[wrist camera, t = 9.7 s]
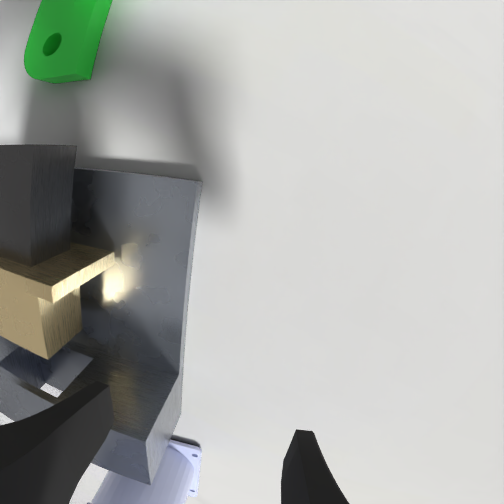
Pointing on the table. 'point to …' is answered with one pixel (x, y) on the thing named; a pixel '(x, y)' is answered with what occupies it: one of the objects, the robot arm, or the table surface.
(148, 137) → the table surface
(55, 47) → the mechanical part
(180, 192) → the block
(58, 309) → the grey and tan block
